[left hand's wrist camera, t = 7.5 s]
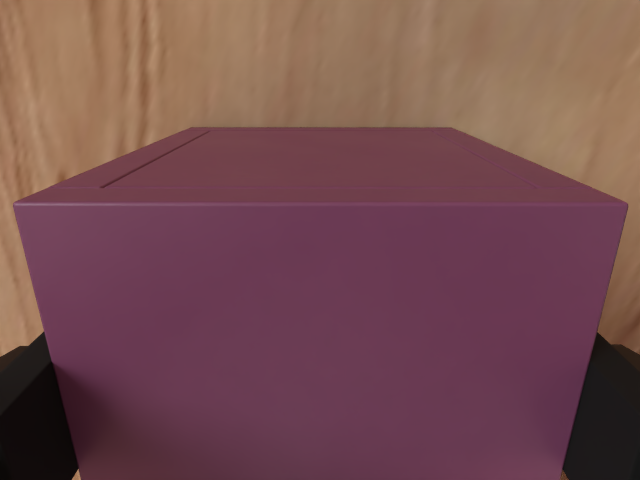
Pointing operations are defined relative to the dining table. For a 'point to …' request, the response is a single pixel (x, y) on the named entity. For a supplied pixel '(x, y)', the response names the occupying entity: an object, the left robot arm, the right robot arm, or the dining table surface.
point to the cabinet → (320, 306)
